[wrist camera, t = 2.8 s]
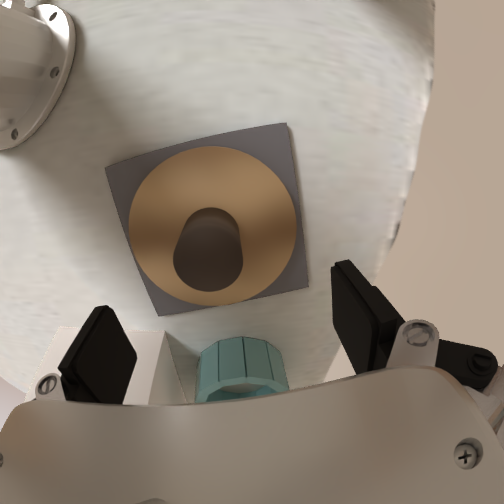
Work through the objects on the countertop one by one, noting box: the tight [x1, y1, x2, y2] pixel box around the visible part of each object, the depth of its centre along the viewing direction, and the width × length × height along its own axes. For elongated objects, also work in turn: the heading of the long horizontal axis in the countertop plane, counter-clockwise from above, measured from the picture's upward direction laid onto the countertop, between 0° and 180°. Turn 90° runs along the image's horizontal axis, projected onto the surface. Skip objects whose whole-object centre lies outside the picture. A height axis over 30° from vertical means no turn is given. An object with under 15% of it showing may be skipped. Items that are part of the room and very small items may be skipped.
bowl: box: [195, 337, 289, 403], centre depth 22 cm, size 8×8×4 cm
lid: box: [129, 146, 297, 306], centre depth 16 cm, size 11×11×5 cm
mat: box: [105, 123, 309, 316], centre depth 18 cm, size 12×12×1 cm
